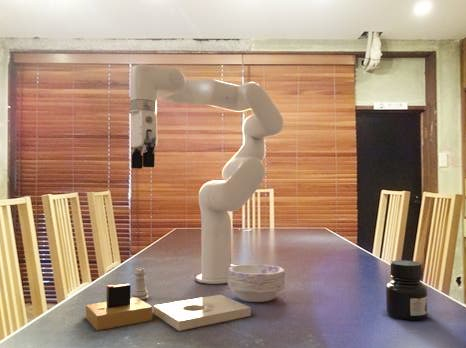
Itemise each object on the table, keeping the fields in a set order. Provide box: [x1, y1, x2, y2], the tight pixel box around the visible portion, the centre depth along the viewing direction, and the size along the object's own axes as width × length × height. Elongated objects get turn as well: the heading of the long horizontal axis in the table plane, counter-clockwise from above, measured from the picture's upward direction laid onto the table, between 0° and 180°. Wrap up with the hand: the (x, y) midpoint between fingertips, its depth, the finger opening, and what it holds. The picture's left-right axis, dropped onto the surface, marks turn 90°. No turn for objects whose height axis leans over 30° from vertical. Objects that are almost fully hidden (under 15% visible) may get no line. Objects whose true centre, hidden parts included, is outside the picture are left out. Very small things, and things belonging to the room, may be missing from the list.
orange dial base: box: [85, 297, 153, 331], centre depth 97 cm, size 12×10×3 cm
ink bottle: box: [385, 259, 428, 321], centre depth 99 cm, size 10×9×12 cm
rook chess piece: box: [130, 267, 149, 301], centre depth 114 cm, size 4×4×8 cm
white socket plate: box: [153, 294, 251, 332], centre depth 100 cm, size 18×14×2 cm
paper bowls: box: [227, 263, 286, 303], centre depth 114 cm, size 15×15×8 cm
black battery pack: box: [106, 283, 131, 308], centre depth 97 cm, size 5×2×5 cm, turn 123°
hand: (142, 167), depth 123 cm, fingers open, 9 cm apart
